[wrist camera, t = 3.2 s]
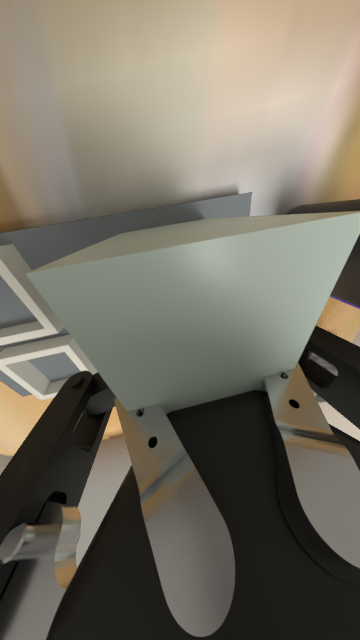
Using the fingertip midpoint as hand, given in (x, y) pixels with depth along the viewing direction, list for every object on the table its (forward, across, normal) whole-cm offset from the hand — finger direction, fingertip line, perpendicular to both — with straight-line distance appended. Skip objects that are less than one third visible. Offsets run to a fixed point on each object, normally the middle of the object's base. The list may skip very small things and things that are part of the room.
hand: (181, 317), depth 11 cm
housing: (+2, 0, 0) cm, 2 cm away
